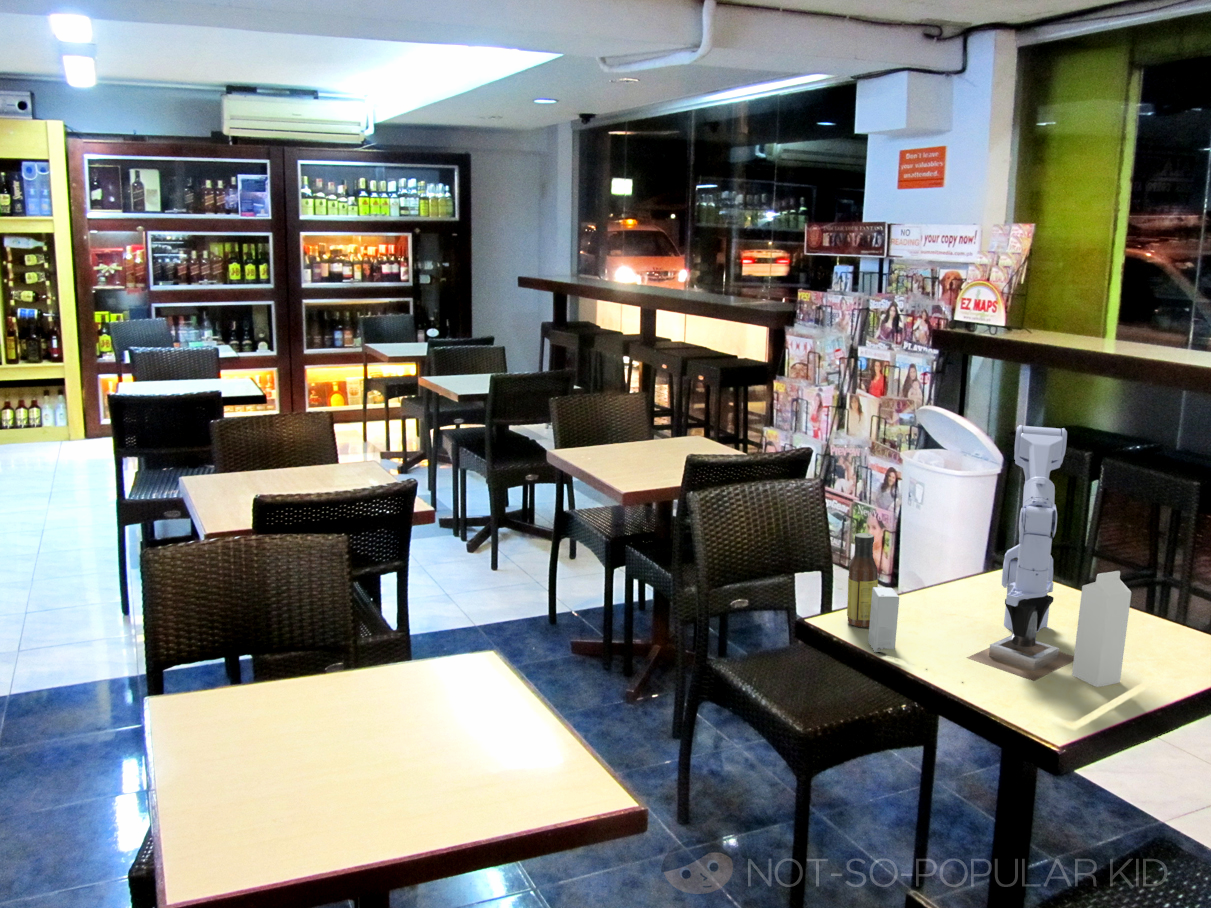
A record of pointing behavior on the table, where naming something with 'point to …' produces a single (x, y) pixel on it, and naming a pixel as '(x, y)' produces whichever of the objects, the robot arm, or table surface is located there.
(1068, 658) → the walnut base plate
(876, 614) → the skincare box
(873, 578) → the sauce bottle
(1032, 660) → the square metal frame
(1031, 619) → the cylinder
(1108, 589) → the milk
